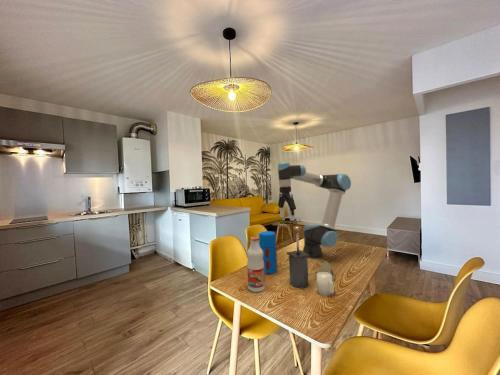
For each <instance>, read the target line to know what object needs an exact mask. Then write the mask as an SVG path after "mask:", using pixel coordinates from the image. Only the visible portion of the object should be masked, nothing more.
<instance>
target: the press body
mask: <svg viewBox="0 0 500 375" xmlns="http://www.w3.org/2000/svg"><path fill="white" fill-rule="evenodd" d="M286 255H288V265H289V284H290V286H292V287H294V288H298V289H304V288H307V287H309V285H310V284H309V283H310V282H309V263H308V262H309V259H308V258H309V257H310V255H309V254H307V253H305V252H303V249H302V250H301V249H299V254H298V255H297V250H293V251H287V253H286Z"/></svg>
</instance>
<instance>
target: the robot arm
mask: <svg viewBox="0 0 500 375" xmlns="http://www.w3.org/2000/svg"><path fill="white" fill-rule="evenodd" d="M306 168H307V167H305V165H303V164H297V165H296V164H294V165H290V162H280V163H278V164H277V174H278V184H279V185H278V186H279V188H278V189H279V193H278V194H279V197H278V203H277V207H279V216H280V218H285V208H284V207H285V206H284V205H285V204H286V203H287V206H288V208H289V220H290V222H291V221H292V222H293V221H295V220H296V219H295V210H296V209H297V206H296V203H295V200H294V197H293V196H294V195H293V194H292V193H291V192H292V184H291V182H292V181H291V180H295V181H300V182H302V183H303V182H304V183H308V184H311V185H314V186H315V187H317V188H322V189H326V190H328V191H329V194H328V198H327V202H326V206H325V210H324V215H323V218H322V222H321V223H320V224H309V225H305V226H303V240H304V241H303V243H304V245H303V248H302V251H303V252H305V253H307V254H309V255H310V257H308V258H309V259H310V258H311V259H317V258H322V257H323V255H324V253H323V250H322V247H321V246H323V247H325V248H332V247H334V246H335V245H336V244H337V242H338V239H339V238H338V237H339V236H338V233H337V232H336V231H337V229H336V227H335V226H336V222H337V218H338V214H339V209H340V205H341V202H342V198H343V196H344V195H345V194H346V191H348V190H349V189H350V188H351V186H352V180H351V178H350V176H349V175H348V174H346V173H337V174H336V173H335V174H319V173H318V174H315V173H312V172H308V171H307V169H306Z"/></svg>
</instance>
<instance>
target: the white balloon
mask: <svg viewBox="0 0 500 375" xmlns="http://www.w3.org/2000/svg"><path fill="white" fill-rule="evenodd" d="M334 286H335V285H334V281H333V282H332V274H330V273H328V272H318V273H317V280H316V292H317V294H319V295H321V296H324V297H329V296H332V295H333V294H334V293H335V292H334V290H335V289H334Z"/></svg>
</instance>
